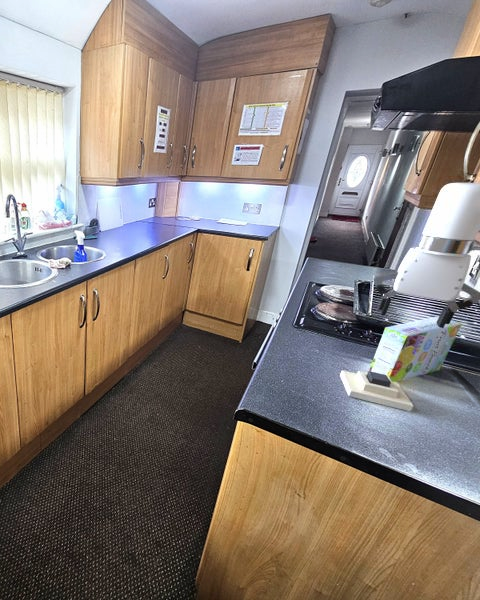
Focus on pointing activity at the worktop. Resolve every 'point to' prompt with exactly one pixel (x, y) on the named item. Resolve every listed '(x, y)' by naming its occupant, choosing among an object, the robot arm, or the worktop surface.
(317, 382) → the worktop surface
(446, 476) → the worktop surface
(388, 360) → the snack box
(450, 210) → the robot arm
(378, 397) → the cream stepped base
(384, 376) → the dark grey square block
